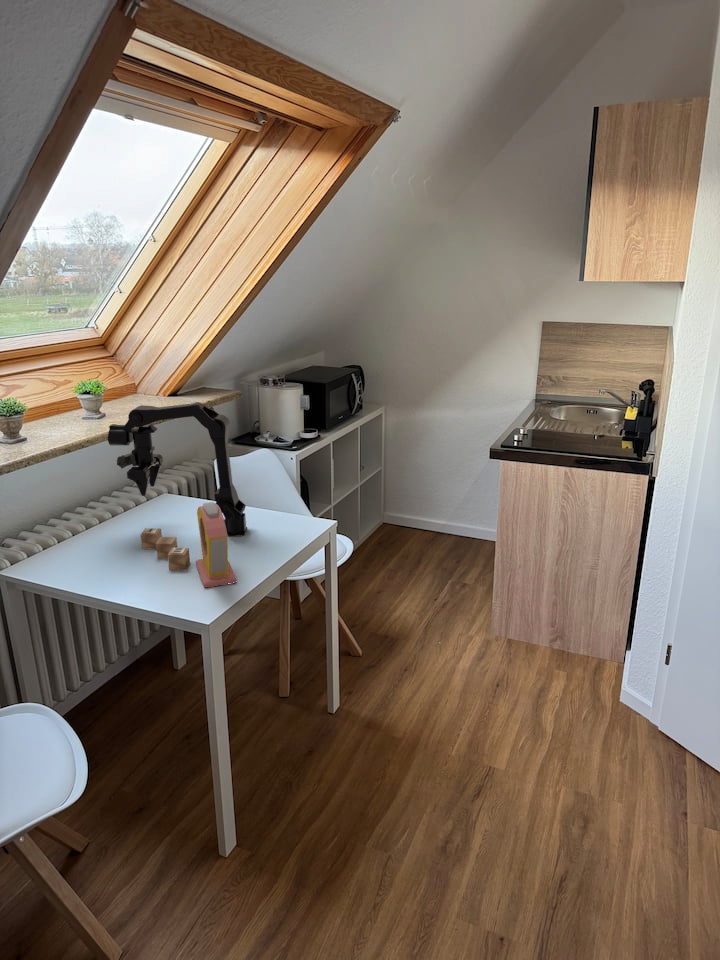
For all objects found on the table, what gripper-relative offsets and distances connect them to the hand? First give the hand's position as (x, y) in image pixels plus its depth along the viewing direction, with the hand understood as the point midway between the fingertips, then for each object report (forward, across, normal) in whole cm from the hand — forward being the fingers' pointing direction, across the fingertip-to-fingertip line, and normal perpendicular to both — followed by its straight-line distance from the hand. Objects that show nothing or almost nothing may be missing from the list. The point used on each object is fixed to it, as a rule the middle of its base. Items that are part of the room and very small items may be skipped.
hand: (148, 490), depth 229 cm
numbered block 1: (+15, +11, +3) cm, 19 cm away
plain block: (+15, +18, +10) cm, 26 cm away
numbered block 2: (+15, +26, +16) cm, 34 cm away
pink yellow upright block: (+15, +31, +28) cm, 45 cm away
